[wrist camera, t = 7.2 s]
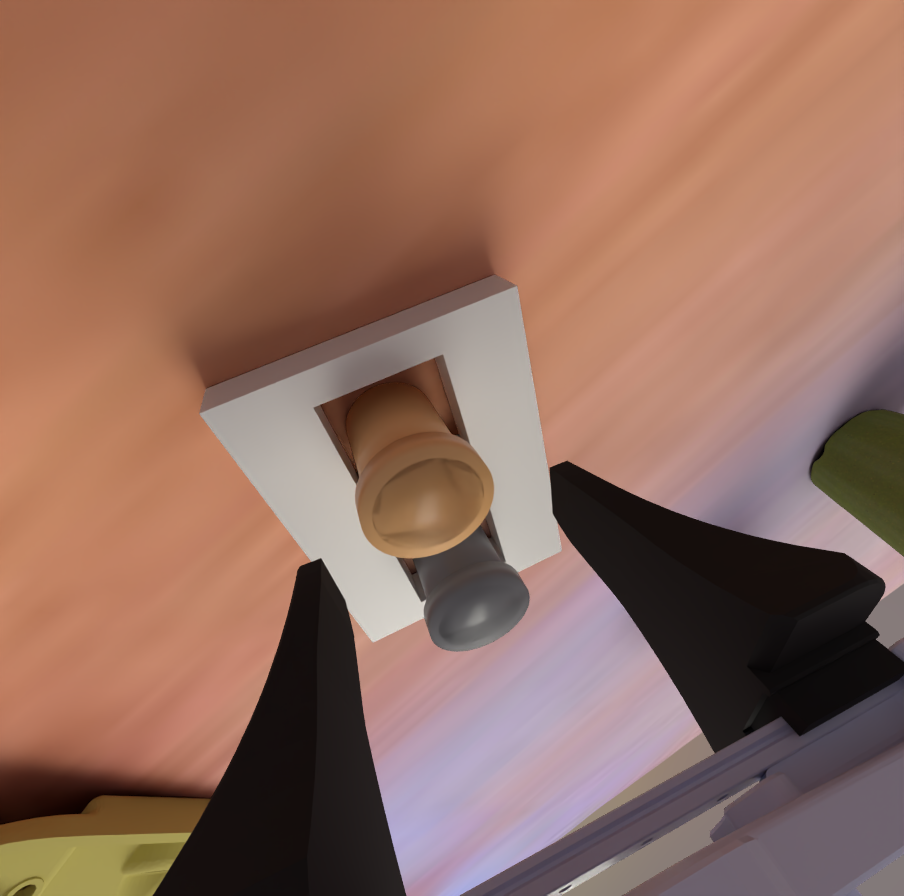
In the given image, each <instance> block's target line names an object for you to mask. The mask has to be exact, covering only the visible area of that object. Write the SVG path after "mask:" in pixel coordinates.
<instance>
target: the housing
mask: <svg viewBox="0 0 904 896" xmlns="http://www.w3.org/2000/svg"><path fill="white" fill-rule="evenodd" d="M432 358H435V361H436V364H437V367H438V370H439V373H440V376H441V379H442V383H443V386H444V389H445V392H446V395H447V398H448V401H449V405H450V408H451V411H452V414H453V417H454V420H455V423H456V427H457V430H458V433H459V434H458V435H455V436H458V437H460V438H462V439H463V440H465V441H467V442H468V443H469V444H470V445H471V446H472V447H473V448H474V449H475V450H476V452H477V453H478V454H479V456H480V457H481V459H482V460H483V461H484V463H485V464H486V466H487V467H488V469H489V470H490V472H491V475H492V478H493V482H494V496H493V501H492V504H491V507H490V509H489V512H488V514H487V515H486V521H487V524H488V527H489V530H490V533H491V536H492V537H491V538H489V541H490V543H491V544H492V546H493V548H494V550H495V551H496V553H497V555H498V557H499V558H500V560H501V562H504V563H507V564H509V565H511V566H512V567H513V568H514V569H515V570H516V571H517V572H519V571H521V570H524V569H526V568H528V567H530V566H532V565H534V564H536V563H538V562H540V561H542V560H544V559H546V558H548V557H550V556H552V555H554V554H556V553H559V552H561V551H562V549H561V543H560V537H559V531H558V525H557V520H556V519H555V517H554V515H553V513H552V497H551V484H550V478H549V472H548V466H547V460H546V454H545V448H544V442H543V436H542V430H541V424H540V418H539V412H538V407H537V401H536V395H535V389H534V383H533V377H532V371H531V365H530V359H529V353H528V347H527V341H526V336H525V330H524V324H523V318H522V312H521V306H520V300H519V294H518V288H517V285H515V284H513V283H511V282H509V281H507V280H505V279H503V278H501V277H499V276H497V275H492V276H490V277H487V278H485V279H482V280H480V281H477V282H474V283H472V284H469V285H467V286H464V287H462V288H459V289H457V290H454V291H452V292H449V293H447V294H444V295H442V296H439V297H437V298H434V299H432V300H429V301H426V302H424V303H421V304H419V305H416V306H414V307H411V308H409V309H406V310H404V311H401V312H399V313H396V314H394V315H391V316H389V317H386V318H384V319H381V320H378V321H376V322H373V323H371V324H368V325H366V326H363V327H361V328H358V329H356V330H353V331H351V332H348V333H346V334H343V335H341V336H338V337H336V338H333V339H330V340H328V341H325V342H323V343H320V344H318V345H315V346H313V347H310V348H308V349H305V350H303V351H300V352H298V353H295V354H293V355H290V356H288V357H285V358H282V359H280V360H277V361H275V362H272V363H270V364H267V365H265V366H262V367H260V368H257V369H255V370H252V371H250V372H247V373H245V374H242V375H240V376H237V377H234V378H232V379H229V380H227V381H224V382H222V383H219V384H217V385H214V386H212V387H209V388H207V389H206V390H205V394H204V397H203V401H202V405H201V408H200V412H199V414H200V415H201V417H202V418H203V419H204V421H205V422H206V423H207V425H208V426H209V427H210V429H211V430H212V431H213V433H214V434H215V435H216V437H217V438H218V439H219V440H220V442H221V443H222V444H223V446H224V447H225V448H226V450H227V451H228V452H229V454H230V455H231V456H232V458H233V459H234V460H235V462H236V463H237V464H238V466H239V467H240V468H241V469H242V471H243V472H244V473H245V475H246V476H247V477H248V479H249V480H250V481H251V483H252V484H253V485H254V487H255V488H256V489H257V491H258V492H259V493H260V495H261V496H262V497H263V498H264V500H265V501H266V502H267V504H268V505H269V506H270V508H271V509H272V510H273V512H274V513H275V514H276V516H277V517H278V518H279V520H280V521H281V522H282V524H283V525H284V526H285V527H286V529H287V530H288V531H289V533H290V534H291V535H292V537H293V538H294V539H295V541H296V542H297V543H298V545H299V546H300V547H301V549H302V550H303V551H304V553H305V554H306V555H307V556H308V558H309V559H310V560H311V562H312V561H315V560H317V559H320V558H321V559H322V560H323V562H324V564H325V566H326V567H327V569H328V571H329V573H330V574H331V576H332V578H333V579H334V581H335V583H336V585H337V586H338V588H339V590H340V592H341V593H342V595H343V597H344V599H345V601H346V605H347V609H348V611H349V612H350V613H351V614H352V616H353V617H354V618H355V620H356V621H357V622H358V624H359V625H360V626H361V628H362V629H363V630H364V632H365V633H366V634H367V636H368V637H369V638H370V639H371V641H372V642H375V641H377V640H379V639H381V638H383V637H386V636H388V635H390V634H392V633H394V632H396V631H398V630H400V629H402V628H404V627H406V626H408V625H410V624H412V623H414V622H416V621H418V620H421V619H423V618H424V605H425V602H426V600H427V598H426V595H425V592H424V589H423V586H422V584H421V581H420V578H419V575H418V572H417V573H415V574H413V575H412V574H411V572H410V571H409V569H408V567H407V565H406V563H405V561H404V560H403V558H400V557H395V556H391V555H388V554H385V553H383V552H381V551H379V550H378V549H376V548H375V547H374V546H372V544H371V543H370V542H369V541H368V540H367V539H366V537H365V535H364V533H363V531H362V529H361V525H360V521H359V517H358V513H357V509H356V504H355V490H356V486H357V482H358V479H359V476H358V474H357V473H356V471H355V469H354V467H353V465H352V463H351V462H350V460H349V458H348V456H347V454H346V452H345V450H344V449H343V447H342V445H341V443H340V441H339V439H338V437H337V436H336V434H335V432H334V430H333V428H332V426H331V425H330V423H329V421H328V419H327V417H326V415H325V413H324V412H323V410H322V408H321V406H320V405H321V404H323V403H326V402H328V401H331V400H333V399H336V398H338V397H340V396H343V395H345V394H348V393H350V392H353V391H355V390H357V389H360V388H362V387H365V386H367V385H370V384H372V383H374V382H377V381H379V380H382V379H384V378H386V377H389V376H391V375H394V374H396V373H399V372H401V371H403V370H406V369H408V368H411V367H413V366H416V365H418V364H420V363H423V362H425V361H428V360H430V359H432Z"/></svg>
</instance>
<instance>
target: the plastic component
mask: <svg viewBox="0 0 904 896" xmlns="http://www.w3.org/2000/svg"><path fill="white" fill-rule="evenodd" d="M209 801H210V799H206V798H174V797H142V796H109V795H103V796H99V797H96V798H94V799H93V800H92V801H91V802H90V803H89V804H88V805H87V806H86V808H85V809H84V810H83V812H82V813H81V814H67V815H55V816H46V817H38V818H32V819H27V820H22V821H17V822H11V823H6V824H3V825H0V896H153V894H154V892H155V891H156V889H157V888H158V886H159V885H160V883H161V882H162V880H163V878H164V877H165V875H166V873H167V872H168V870H169V869H170V867H171V865H172V864H173V862H174V860H175V859H176V857H177V856H178V854H179V852H180V851H181V849H182V847H183V846H184V844H185V843H186V841H187V839H188V838H189V836H190V835H191V833H192V831H193V830H194V828H195V826H196V824H197V823H198V821H199V819H200V817H201V816H202V814H203V812H204V810H205V808H206V807H207V805H208V803H209Z"/></svg>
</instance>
